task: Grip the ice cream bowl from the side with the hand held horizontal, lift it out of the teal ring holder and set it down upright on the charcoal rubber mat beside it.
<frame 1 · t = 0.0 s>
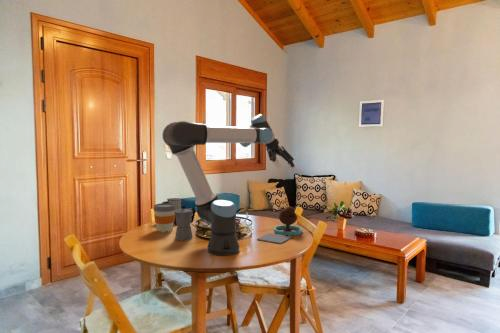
hand: (287, 170, 193), 36 cm above the table, tool tilted 35°, fingers open, 13 cm apart
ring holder: (287, 231, 194), on the table
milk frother: (173, 223, 215), on the table
ice cream bowl: (287, 232, 194), resting in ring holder
coffeepot: (185, 238, 180), on the table
reusable coffee cup: (164, 230, 196), on the table
mat: (274, 238, 180), on the table
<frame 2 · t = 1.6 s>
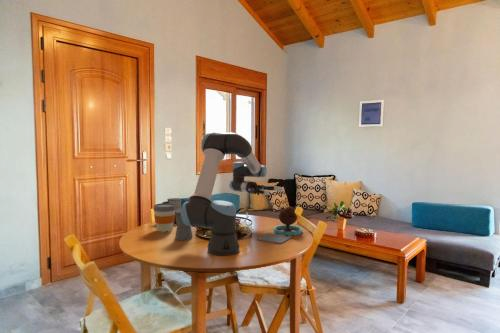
hand: (276, 191, 198), 23 cm above the table, tool horizontal, fingers open, 13 cm apart
nothing on the table moved.
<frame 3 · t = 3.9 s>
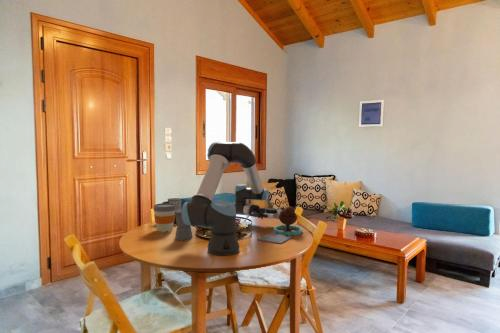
hand: (279, 215, 198), 9 cm above the table, tool horizontal, fingers open, 13 cm apart
nothing on the table moved.
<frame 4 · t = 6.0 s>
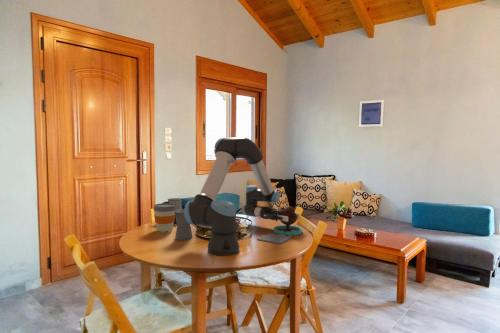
hand: (293, 217, 191), 9 cm above the table, tool horizontal, fingers closed on ice cream bowl, 11 cm apart
ice cream bowl: (287, 232, 194), resting in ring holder, touching gripper
everything else where it was.
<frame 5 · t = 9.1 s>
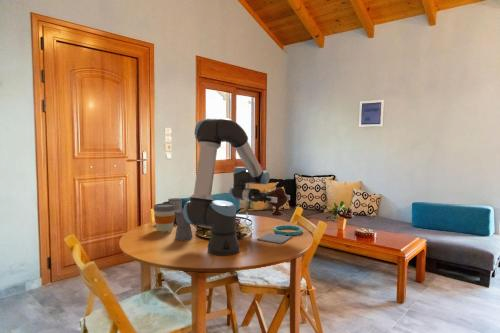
hand: (283, 199, 178), 22 cm above the table, tool horizontal, fingers closed on ice cream bowl, 11 cm apart
ice cream bowl: (277, 215, 181), point 13 cm above the table, touching gripper
everything else where it was.
when the fingers open (10 cm above the table, at t = 12.1 s): ice cream bowl stays where it is, resting on mat.
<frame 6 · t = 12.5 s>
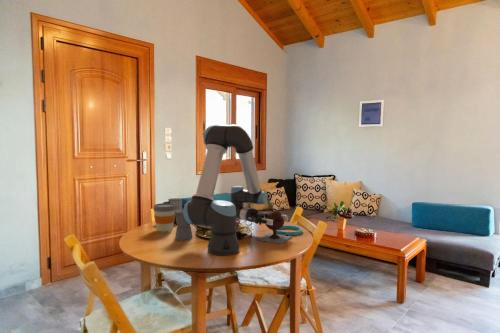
hand: (280, 220, 177), 10 cm above the table, tool horizontal, fingers open, 13 cm apart
ice cream bowl: (274, 237, 180), resting on mat
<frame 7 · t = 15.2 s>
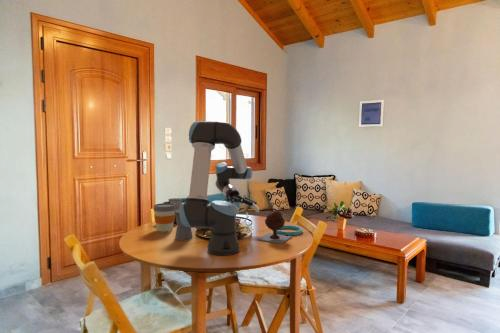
hand: (248, 211, 185), 14 cm above the table, tool tilted 70°, fingers open, 13 cm apart
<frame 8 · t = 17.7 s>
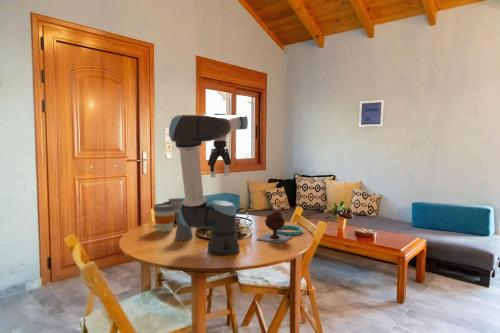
hand: (219, 176, 197), 32 cm above the table, tool pointing down, fingers open, 13 cm apart
at the end: ice cream bowl inside the target area on the mat (0.1 cm from its centre), point 0.4 cm above the mat's base; ice cream bowl tilted 0°; the gripper is holding nothing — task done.
